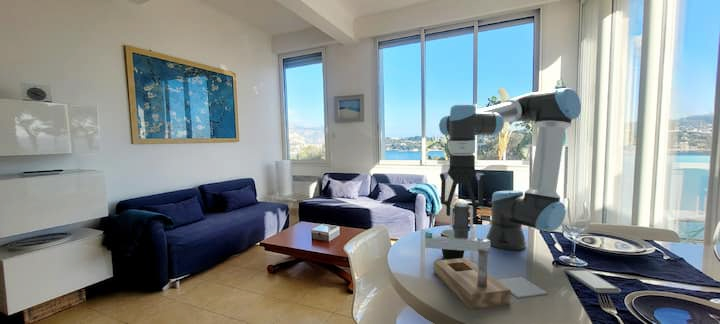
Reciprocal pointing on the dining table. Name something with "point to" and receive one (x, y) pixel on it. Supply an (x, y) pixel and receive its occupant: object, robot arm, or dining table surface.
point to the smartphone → (592, 280)
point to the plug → (461, 220)
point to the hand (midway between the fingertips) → (461, 226)
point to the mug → (450, 253)
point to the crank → (457, 243)
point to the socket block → (472, 282)
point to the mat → (522, 287)
